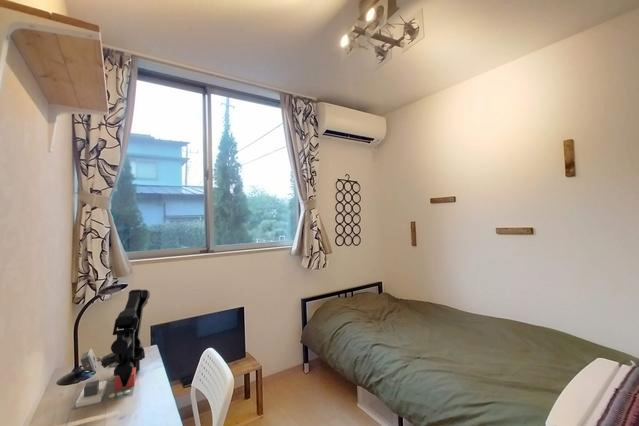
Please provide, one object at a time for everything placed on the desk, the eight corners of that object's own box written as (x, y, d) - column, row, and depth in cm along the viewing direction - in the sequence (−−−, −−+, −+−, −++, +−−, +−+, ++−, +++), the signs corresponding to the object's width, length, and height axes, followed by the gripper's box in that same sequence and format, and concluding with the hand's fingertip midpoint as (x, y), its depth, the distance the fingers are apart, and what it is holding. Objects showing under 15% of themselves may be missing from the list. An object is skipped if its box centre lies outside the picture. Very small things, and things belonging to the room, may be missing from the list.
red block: (116, 382, 127) (117, 370, 127) (135, 378, 130) (135, 366, 130) (114, 389, 121) (114, 377, 121) (134, 385, 124) (134, 373, 124)
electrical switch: (96, 373, 136) (94, 353, 136) (81, 378, 134) (79, 357, 134) (98, 365, 144) (96, 346, 144) (84, 369, 142) (82, 350, 142)
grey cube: (86, 392, 116) (86, 382, 116) (98, 389, 118) (99, 380, 118) (83, 397, 112) (84, 387, 112) (96, 394, 114) (97, 384, 114)
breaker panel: (82, 390, 122) (82, 383, 123) (136, 379, 131) (136, 372, 131) (70, 413, 107) (70, 405, 107) (132, 398, 116) (132, 391, 116)
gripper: (106, 340, 130) (106, 376, 130) (98, 357, 114) (97, 398, 113) (136, 336, 135) (136, 371, 135) (132, 351, 119) (131, 391, 118)
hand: (125, 382), depth 125 cm, fingers closed on red block, 7 cm apart
